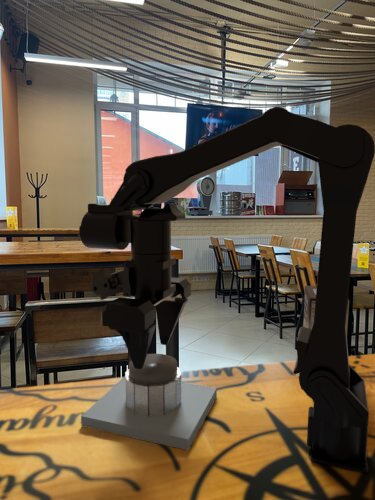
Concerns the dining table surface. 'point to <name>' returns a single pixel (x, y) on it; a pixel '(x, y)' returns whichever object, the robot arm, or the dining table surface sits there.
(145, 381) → the knob
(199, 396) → the mount plate
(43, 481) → the dining table surface
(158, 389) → the faceted ring
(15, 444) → the dining table surface
